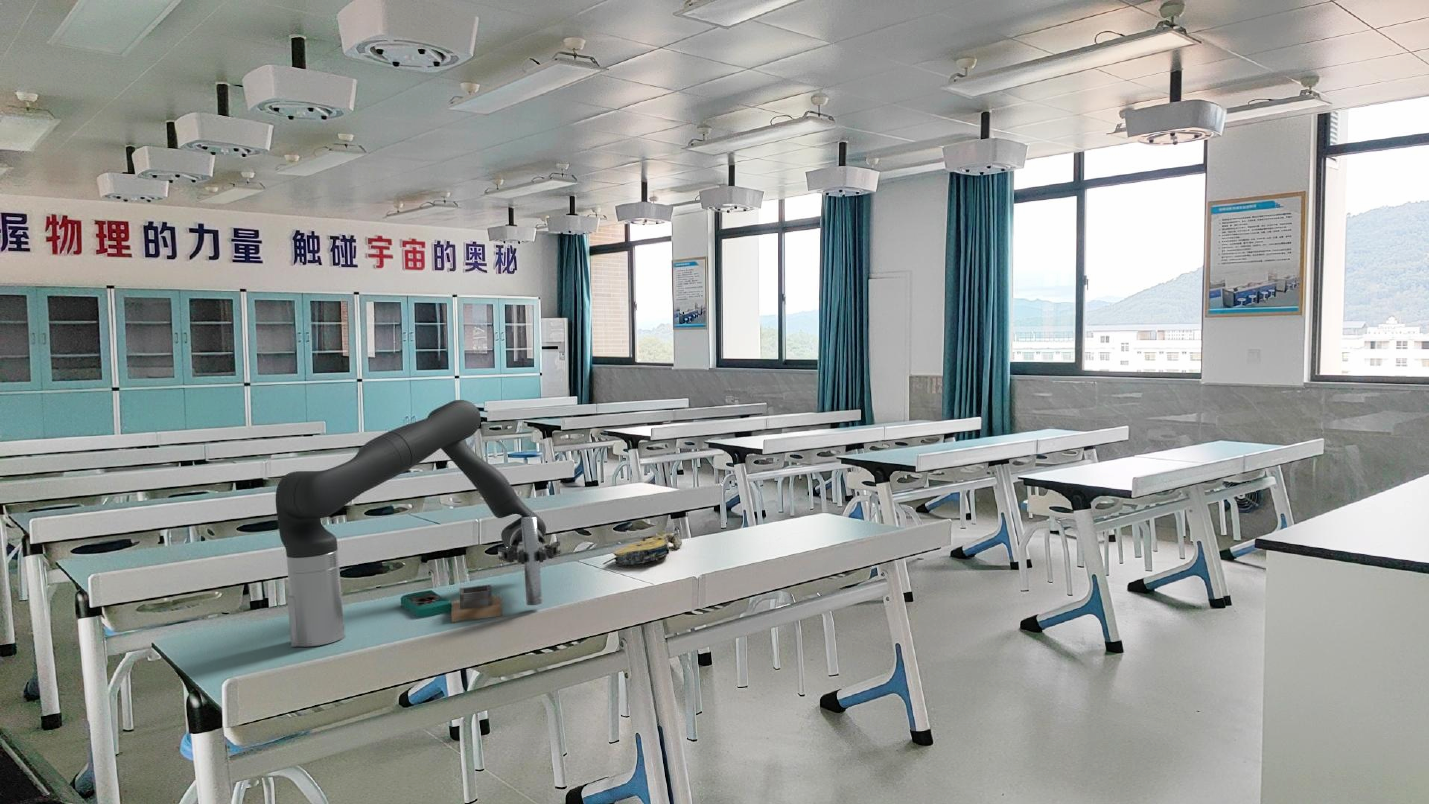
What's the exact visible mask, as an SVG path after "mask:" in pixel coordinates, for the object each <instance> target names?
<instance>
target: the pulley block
mask: <svg viewBox="0 0 1429 804" xmlns="http://www.w3.org/2000/svg"><path fill="white" fill-rule="evenodd" d="M670 544H672V546H673V548H674V549H676V550H677V549H678V548H680V547H682V545H683V541H682V539H680V537H678V536H677V535H676V534H672V533H670V532H666V531H658V532H656V533H655V534H654V536H653V537H650V538H645V537H642V540H641V541H638V542H634V543H632V544H629V545H626V546H624V547H622V548H620V549H618V550H615V551H613V553H612V554H613V555H614V556H615V557H613V558H610V559H609V560H607V561H605V562H603V563H602V565H606V564H608V563H610V562H612V561H615V563H616V564H615V563H614V565H615V566H622V567H623V566H630V565H633V566H634V565H638V564H645V563H648V562H651V561H652V562H654V561H658V562H659V559H660V558H663V557H665V556H667V555H669V554H670V546H669V545H670Z"/></svg>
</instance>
